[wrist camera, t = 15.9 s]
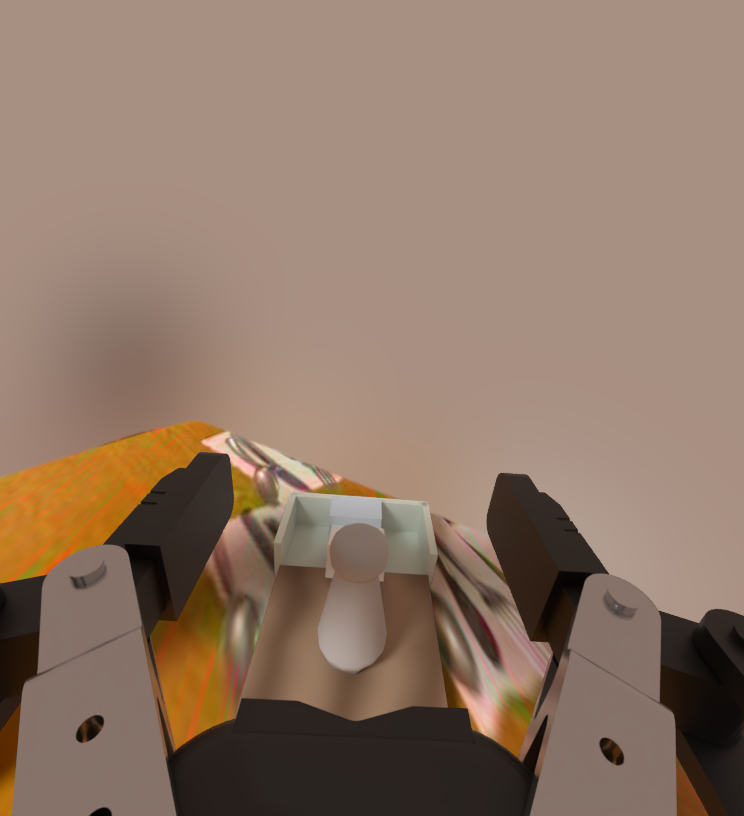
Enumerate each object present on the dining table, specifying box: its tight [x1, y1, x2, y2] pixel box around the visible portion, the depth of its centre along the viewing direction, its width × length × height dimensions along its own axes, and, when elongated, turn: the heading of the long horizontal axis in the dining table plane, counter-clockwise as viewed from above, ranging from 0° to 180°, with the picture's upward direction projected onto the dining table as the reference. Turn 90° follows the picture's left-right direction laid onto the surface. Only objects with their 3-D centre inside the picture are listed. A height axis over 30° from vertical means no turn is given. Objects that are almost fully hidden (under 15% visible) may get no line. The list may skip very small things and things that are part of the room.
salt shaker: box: [318, 523, 389, 675], centre depth 29 cm, size 6×6×13 cm
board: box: [234, 565, 448, 721], centre depth 33 cm, size 16×14×2 cm
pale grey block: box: [328, 496, 382, 541], centre depth 44 cm, size 6×5×4 cm
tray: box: [274, 492, 438, 588], centre depth 43 cm, size 17×8×5 cm, turn 89°
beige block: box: [325, 525, 385, 582], centre depth 40 cm, size 6×5×4 cm
